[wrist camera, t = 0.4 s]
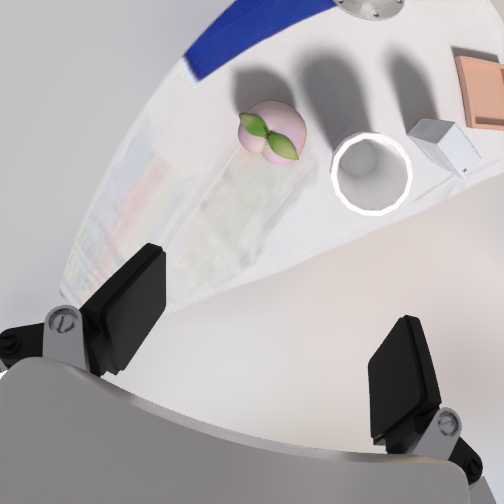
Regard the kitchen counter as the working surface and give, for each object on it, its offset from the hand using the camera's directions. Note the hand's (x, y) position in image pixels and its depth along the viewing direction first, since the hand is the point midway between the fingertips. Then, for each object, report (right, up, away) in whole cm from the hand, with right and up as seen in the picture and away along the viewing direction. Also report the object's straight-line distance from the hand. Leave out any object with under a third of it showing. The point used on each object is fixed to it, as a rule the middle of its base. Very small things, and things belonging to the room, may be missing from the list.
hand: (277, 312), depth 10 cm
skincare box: (+26, +20, +23) cm, 40 cm away
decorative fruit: (+3, +21, +28) cm, 35 cm away
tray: (+37, +28, +15) cm, 49 cm away
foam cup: (+15, +17, +28) cm, 36 cm away
